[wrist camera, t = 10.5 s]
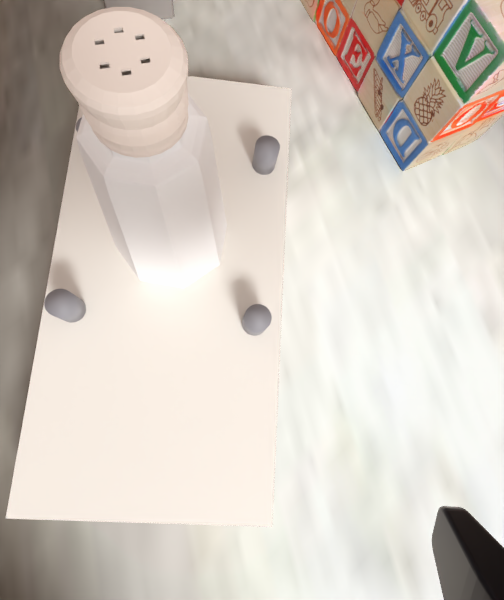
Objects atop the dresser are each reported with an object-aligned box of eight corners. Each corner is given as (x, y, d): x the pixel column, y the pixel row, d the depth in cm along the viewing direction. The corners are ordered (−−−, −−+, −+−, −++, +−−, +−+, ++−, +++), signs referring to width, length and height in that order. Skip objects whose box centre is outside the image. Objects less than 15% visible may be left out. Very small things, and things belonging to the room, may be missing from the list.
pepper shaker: (239, 277, 19) (272, 141, 8) (126, 301, 18) (5, 184, 8) (215, 177, 20) (217, -58, 9) (107, 196, 19) (-24, -39, 9)
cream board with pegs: (263, 506, 20) (278, 541, 15) (37, 497, 19) (-17, 532, 15) (282, 123, 25) (297, 65, 20) (102, 102, 24) (76, 37, 19)
